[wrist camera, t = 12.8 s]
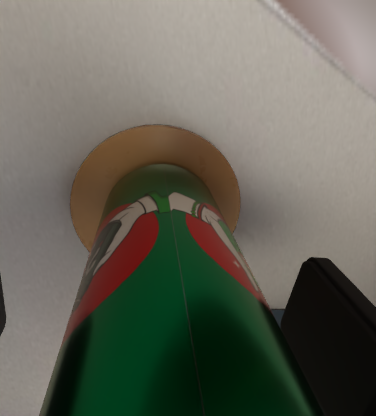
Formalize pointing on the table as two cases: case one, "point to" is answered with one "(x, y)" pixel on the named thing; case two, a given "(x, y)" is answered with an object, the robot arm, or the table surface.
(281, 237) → the table surface
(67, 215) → the table surface
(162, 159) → the coaster
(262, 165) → the table surface
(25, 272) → the table surface
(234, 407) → the soda can
